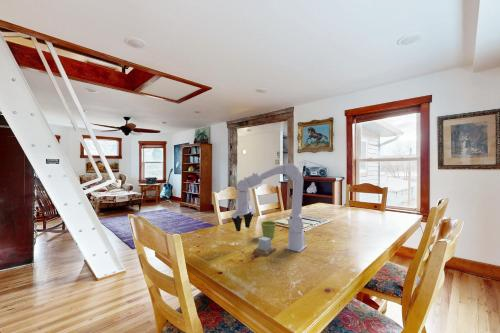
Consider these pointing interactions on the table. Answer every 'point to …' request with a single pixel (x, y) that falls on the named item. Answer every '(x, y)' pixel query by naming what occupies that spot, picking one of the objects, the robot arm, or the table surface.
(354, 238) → the table surface
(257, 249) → the slab
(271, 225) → the plant pot
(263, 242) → the block
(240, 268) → the table surface
